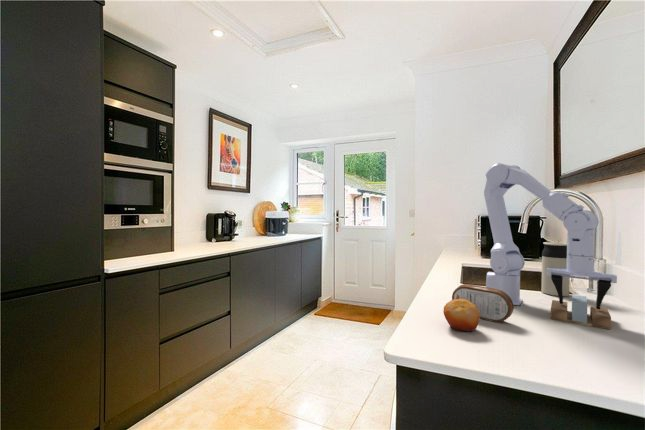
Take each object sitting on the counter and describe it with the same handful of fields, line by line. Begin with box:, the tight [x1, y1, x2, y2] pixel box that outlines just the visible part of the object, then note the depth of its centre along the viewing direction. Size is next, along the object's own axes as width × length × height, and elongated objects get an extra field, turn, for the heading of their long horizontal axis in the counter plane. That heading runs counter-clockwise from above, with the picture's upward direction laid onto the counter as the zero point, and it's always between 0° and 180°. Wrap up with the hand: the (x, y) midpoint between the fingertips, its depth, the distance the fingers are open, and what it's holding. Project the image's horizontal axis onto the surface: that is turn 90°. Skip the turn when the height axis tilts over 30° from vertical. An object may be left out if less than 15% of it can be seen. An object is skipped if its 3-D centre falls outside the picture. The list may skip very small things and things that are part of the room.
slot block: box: [550, 299, 612, 330], centre depth 85 cm, size 12×10×3 cm
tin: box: [451, 283, 515, 323], centre depth 86 cm, size 15×3×8 cm, turn 47°
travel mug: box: [540, 241, 571, 297], centre depth 112 cm, size 8×8×18 cm
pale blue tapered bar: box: [571, 294, 588, 323], centre depth 85 cm, size 3×9×5 cm, turn 142°
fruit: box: [442, 299, 481, 332], centre depth 78 cm, size 8×8×8 cm
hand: (579, 305), depth 85 cm, fingers open, 7 cm apart
